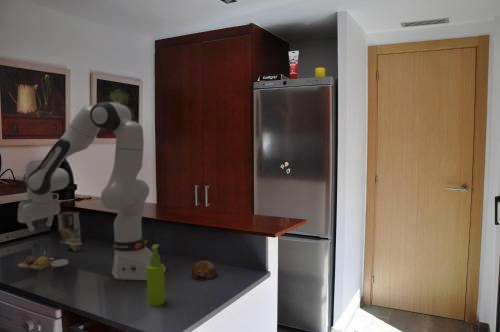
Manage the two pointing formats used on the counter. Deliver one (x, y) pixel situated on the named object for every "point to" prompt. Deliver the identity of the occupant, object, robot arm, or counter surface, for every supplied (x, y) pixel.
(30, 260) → the walnut ball
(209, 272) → the bread roll
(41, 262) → the mustard ball
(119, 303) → the counter surface
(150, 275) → the soap dispenser
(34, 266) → the twin rack
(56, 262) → the white bowl
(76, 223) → the coffee box
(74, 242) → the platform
